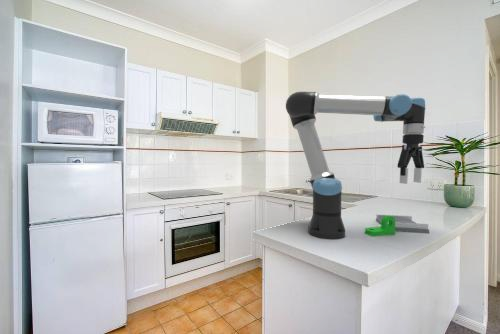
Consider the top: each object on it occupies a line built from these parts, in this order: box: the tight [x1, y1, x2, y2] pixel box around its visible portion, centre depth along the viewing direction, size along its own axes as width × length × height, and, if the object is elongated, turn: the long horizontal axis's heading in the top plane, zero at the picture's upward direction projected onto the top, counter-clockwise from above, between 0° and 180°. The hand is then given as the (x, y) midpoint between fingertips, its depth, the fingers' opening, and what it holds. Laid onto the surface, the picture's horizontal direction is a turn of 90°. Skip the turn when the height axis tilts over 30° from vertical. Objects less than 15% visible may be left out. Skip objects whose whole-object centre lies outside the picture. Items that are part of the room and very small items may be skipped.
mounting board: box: [375, 218, 430, 234], centre depth 113 cm, size 16×18×2 cm
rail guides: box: [375, 214, 429, 229], centre depth 113 cm, size 16×16×2 cm
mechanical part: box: [364, 214, 396, 237], centre depth 102 cm, size 12×6×8 cm, turn 106°
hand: (410, 182), depth 104 cm, fingers open, 13 cm apart
